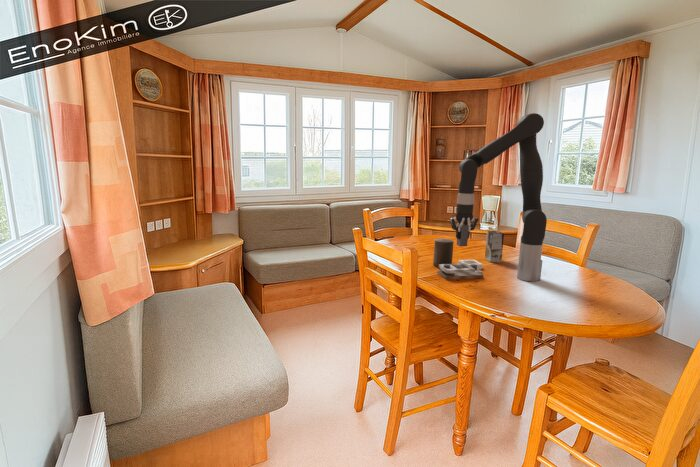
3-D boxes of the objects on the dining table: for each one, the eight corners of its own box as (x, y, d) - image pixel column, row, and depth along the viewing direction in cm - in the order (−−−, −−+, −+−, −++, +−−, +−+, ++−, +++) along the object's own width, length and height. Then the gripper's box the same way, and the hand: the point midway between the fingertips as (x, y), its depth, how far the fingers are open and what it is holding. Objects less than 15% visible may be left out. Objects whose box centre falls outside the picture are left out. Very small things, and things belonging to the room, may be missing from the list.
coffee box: (501, 262, 203) (504, 233, 200) (490, 262, 203) (492, 233, 200) (495, 258, 212) (498, 230, 209) (484, 257, 212) (486, 230, 209)
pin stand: (473, 263, 200) (474, 259, 199) (482, 268, 191) (482, 264, 191) (457, 264, 198) (458, 260, 198) (465, 269, 190) (466, 264, 189)
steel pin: (463, 244, 179) (465, 223, 177) (467, 246, 176) (468, 225, 174) (456, 244, 179) (458, 224, 177) (460, 246, 175) (461, 225, 173)
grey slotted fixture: (472, 271, 187) (473, 260, 185) (483, 277, 177) (484, 266, 176) (437, 273, 183) (437, 262, 182) (445, 279, 174) (446, 268, 173)
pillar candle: (447, 269, 190) (449, 240, 187) (429, 265, 196) (431, 237, 193) (454, 265, 197) (456, 237, 195) (437, 262, 203) (439, 235, 200)
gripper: (454, 204, 168) (451, 241, 172) (483, 203, 171) (480, 240, 174) (447, 202, 175) (445, 237, 179) (475, 201, 178) (472, 237, 181)
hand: (462, 238), depth 177 cm, fingers closed on steel pin, 3 cm apart
